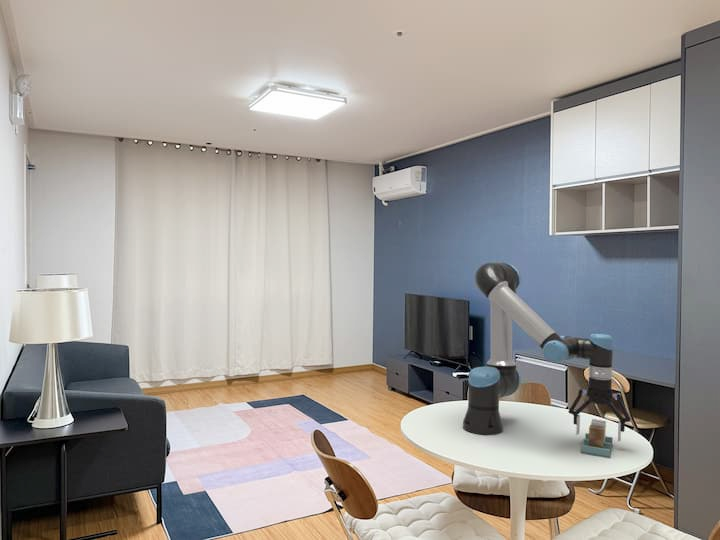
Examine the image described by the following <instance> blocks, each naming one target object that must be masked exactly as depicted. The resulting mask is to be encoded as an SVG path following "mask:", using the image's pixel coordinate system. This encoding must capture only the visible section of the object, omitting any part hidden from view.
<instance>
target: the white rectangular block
mask: <svg viewBox="0 0 720 540" xmlns="http://www.w3.org/2000/svg"><path fill="white" fill-rule="evenodd" d="M590 425H597V426H604V442H605V436H606V433H607V431H606V430H607V426H606V425H607V421H605V420H600V419H594V418H593V419H591V422H590Z"/></svg>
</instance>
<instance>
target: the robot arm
mask: <svg viewBox="0 0 720 540" xmlns="http://www.w3.org/2000/svg"><path fill="white" fill-rule="evenodd" d="M474 279H475V285H476V286H477V288H478V290H479V291H480V292H481V293H482V294H483V295H484V296H485V297H486V298H487V299H488V300H489V301H490V302H489V303H490V304H489V305H490V307H489V308H490V309H489V311H490V317H489V318H490V358H489V360H488V361H487V362H486V366H477V367H474V368H472V369H470V371H469V375H468V379H467V380H468V393H467V394H468V398H467V399H468V403H467V404H468V405H467V409H466V412H465V415H464V418H463V421H462V428H463V430H465V431H467V432H470V433H472V434H476V435H488V436H491V435H499V434H501V433H502V432H503V431H504V424H503V421H502V417H501V414H500V409H499V408H500V399H502V398H505V397H509V396H512V395H513V394H515V393H517V391H518V390H519V389H520V386H521V383H522V377H521V374H520V372H519V371H518V369H517V363H516V362H515V361H514V359H513V321H514V322H515V323H516V324H517V325H518V326H519V328H520V329H522V330H523V332H525V333H526V334H527V335H528V336H529V337H530V338H531V339H532V340H533V341H534V342H535V343H536V344H537V345H538V346H539V348H541V349H542V353H543V356H544V358H545V359H546V360H547V361H548V362H551V363H561V362H565V361H568V360H572V359H579V360H580V359H583V360H588V361H589V365H588V366H589V367H588V376H589V377H588V389H587V390H586V389H584V388H579V390H578V395H577V397H576V398H575V400H574V401H573V403H572V404H571V406H570V407H569V410H568V413H569V414H570V415H572V416H573V424H574V425H576V433H575V435H578V436H579V434H580V430H581V429H580V425H581V414H580V413H581V412H583V411H584V410H585V409H586V408H587V407H588V406H589V405H590V404H591V403H593V404H595V405H601V406H602V405H603V406H604V405H607V407H608V408H609V409H610V410H611V411H612V413H613V414H614V415H615V417H616V418H617V419H618V423H617V424H618V429H617V442H621V436H622V433H625V425H626V424H625V423H630V422H631V416H630V414H629V412H628V410H627V408H626V406H625V404H624V402H623V400H622V395H621V393H620V392H618V393H613V392H612V383H613V381H612V377H613V356H614V354H613V353H614V351H613V350H614V347H613V346H614V341H613V339H614V338H613V337H612V336H611V335H609V334H604V333H592V334H591V335H590V337H589V338H583V337H576V336H570V335H559V334H558V333H556V331H554V329H553V328H552V327H550V325H548V323H547V322H546V321H544V320H543V319H542V318H541V317H540V316H539V315H538V314H537V313H536V312H535V311H534V310H533V309H532V308H531V307H530V306H529V305H528V304H527V303H526V302H525V301H524V300H523V299H521V298H520V296H519V295H517V289H518V288H519V286H520V284H521V281H522V279H521V274H520V272H519V270H518V268H516V266H514V265H512V264H511V263H506V262H486V263H484V264H481V265H480V266H479V267H478V268H477V270H476V272H475V276H474ZM585 395H587V397H589V398H588V399H587V400H586V401H585V402H584V403H582V405H580V406H579V407H578V408H576V406H577V405H578V404H579V402H580V400H581V398H582V396H583V397H584V396H585ZM612 398H614V400H616V401H617V404H618V406H619V408H620V410H621V412H622V414H623V415H624V416H623V415H622V414H621V412H620V411H619V410H618V408H616V406H615V405H614V404H613V402H612V401H611V399H612ZM575 409H576V410H575Z"/></svg>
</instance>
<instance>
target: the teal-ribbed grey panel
mask: <svg viewBox="0 0 720 540" xmlns="http://www.w3.org/2000/svg"><path fill="white" fill-rule="evenodd" d="M584 436H585V437H584V438H583V442H582V443H583V444H581V445H580V454H585V455H590V456H595V457H602V458H608V459H610V457H611V452H612V448H613V441H614V440H613V438H614V437H612V436H608V435H605V442H604V448H598V447H592V446H589V432H587V433H586V432H585V435H584Z"/></svg>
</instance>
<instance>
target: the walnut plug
mask: <svg viewBox="0 0 720 540" xmlns="http://www.w3.org/2000/svg"><path fill="white" fill-rule="evenodd" d="M588 434H589V446H592V447H598V448H604V426H597V425H591V424H590V425H589V427H588Z"/></svg>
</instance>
